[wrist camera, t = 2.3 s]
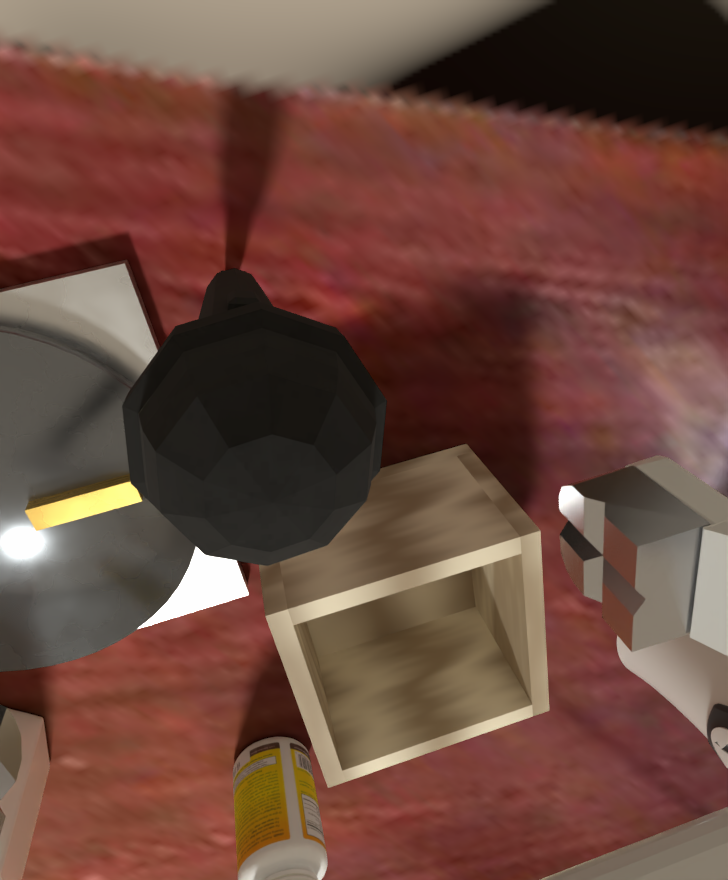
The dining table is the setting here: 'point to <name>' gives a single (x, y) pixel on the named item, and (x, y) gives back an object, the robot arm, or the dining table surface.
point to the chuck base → (129, 352)
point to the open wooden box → (414, 618)
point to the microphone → (254, 428)
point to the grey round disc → (72, 510)
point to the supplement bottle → (277, 813)
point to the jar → (23, 796)
